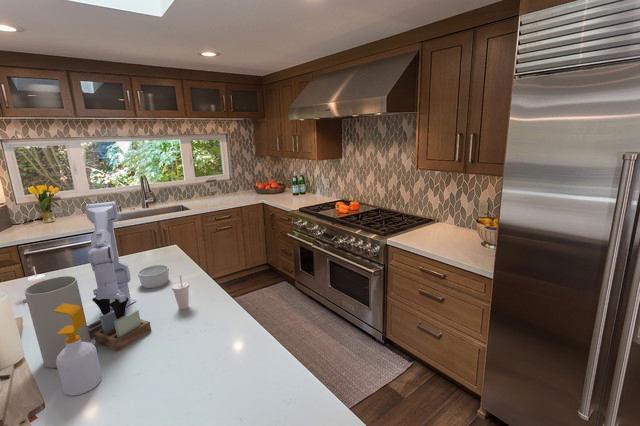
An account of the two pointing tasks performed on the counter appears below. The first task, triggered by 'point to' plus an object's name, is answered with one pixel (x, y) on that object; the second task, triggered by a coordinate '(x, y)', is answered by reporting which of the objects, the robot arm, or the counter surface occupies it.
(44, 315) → the cylinder vase
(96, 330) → the stand
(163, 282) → the ramekin
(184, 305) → the smoothie
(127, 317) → the thin sage green tile
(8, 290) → the counter surface
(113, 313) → the blue grey tile
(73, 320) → the soap bottle
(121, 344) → the rack
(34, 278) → the beverage cup
